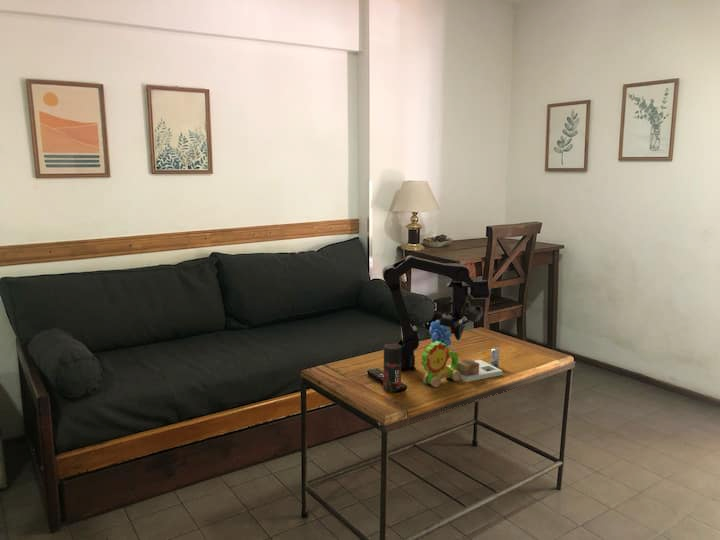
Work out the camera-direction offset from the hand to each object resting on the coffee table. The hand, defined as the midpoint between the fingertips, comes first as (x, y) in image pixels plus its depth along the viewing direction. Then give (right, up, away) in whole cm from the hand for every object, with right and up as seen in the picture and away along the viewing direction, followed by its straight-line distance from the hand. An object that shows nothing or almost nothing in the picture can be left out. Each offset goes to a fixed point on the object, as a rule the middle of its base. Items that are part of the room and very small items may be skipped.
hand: (458, 339), depth 215 cm
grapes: (-4, -7, +24) cm, 25 cm away
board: (+5, -12, -2) cm, 13 cm away
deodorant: (-26, -15, -17) cm, 34 cm away
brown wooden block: (+2, -11, -7) cm, 13 cm away
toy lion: (-8, -14, -12) cm, 20 cm away
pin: (+14, -11, +4) cm, 18 cm away
